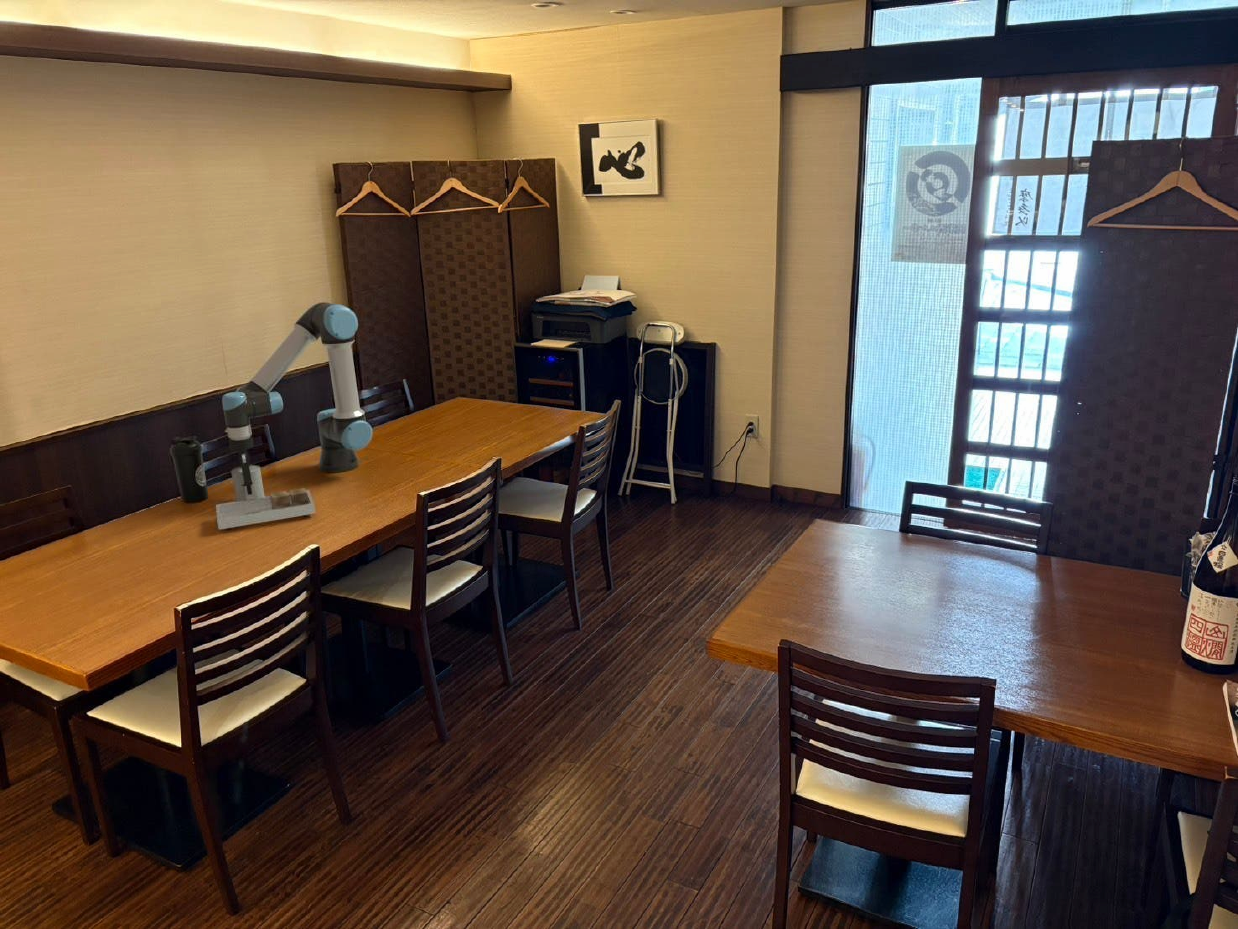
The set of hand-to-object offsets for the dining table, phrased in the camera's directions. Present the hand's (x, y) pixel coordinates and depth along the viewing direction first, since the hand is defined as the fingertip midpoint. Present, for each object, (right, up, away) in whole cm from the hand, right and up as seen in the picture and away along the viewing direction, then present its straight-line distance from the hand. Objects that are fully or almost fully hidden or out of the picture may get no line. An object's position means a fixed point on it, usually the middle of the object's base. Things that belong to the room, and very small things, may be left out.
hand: (250, 497), depth 317 cm
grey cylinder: (0, -2, +1) cm, 2 cm away
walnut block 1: (+16, -3, -13) cm, 21 cm away
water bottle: (-22, -1, +5) cm, 22 cm away
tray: (+12, -6, -14) cm, 19 cm away
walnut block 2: (+21, -2, -11) cm, 24 cm away
